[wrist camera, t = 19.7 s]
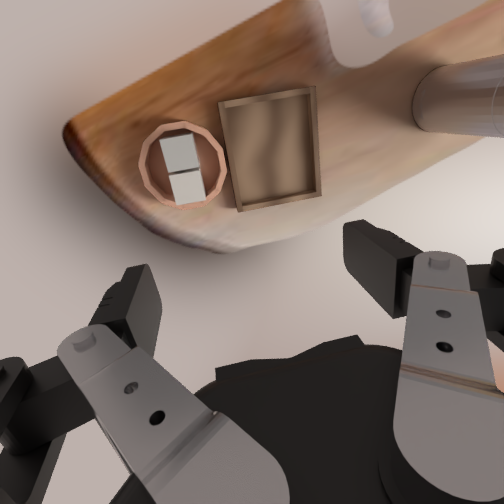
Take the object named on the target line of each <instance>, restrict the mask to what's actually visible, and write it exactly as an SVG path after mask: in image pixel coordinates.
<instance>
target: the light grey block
mask: <svg viewBox="0 0 504 504" xmlns="http://www.w3.org/2000/svg"><path fill="white" fill-rule="evenodd" d="M159 141H160V144H161V148H162V152H163V155H164V159H165V163H166V166H167V170H168V173H170V172H175V171H180V170H186V169H191V168H196V167H199V157H198V153H197V148H196V144H195V139H194V135H193V132H188V133H182V134H177V135H171V136H166V137H163V138H162V139H160V140H159Z"/></svg>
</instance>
